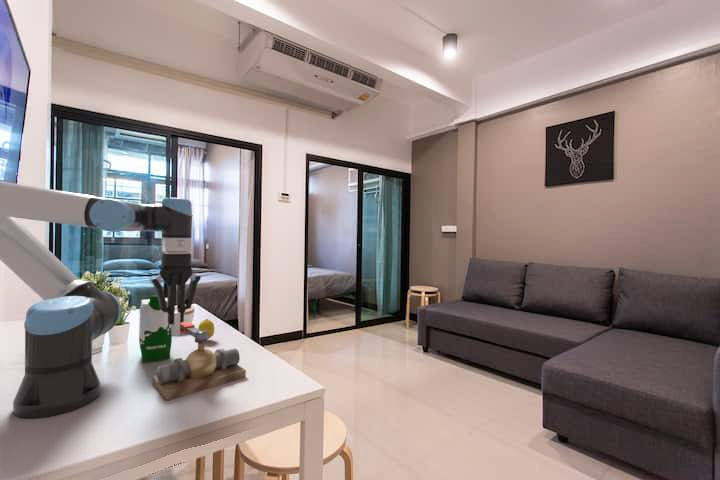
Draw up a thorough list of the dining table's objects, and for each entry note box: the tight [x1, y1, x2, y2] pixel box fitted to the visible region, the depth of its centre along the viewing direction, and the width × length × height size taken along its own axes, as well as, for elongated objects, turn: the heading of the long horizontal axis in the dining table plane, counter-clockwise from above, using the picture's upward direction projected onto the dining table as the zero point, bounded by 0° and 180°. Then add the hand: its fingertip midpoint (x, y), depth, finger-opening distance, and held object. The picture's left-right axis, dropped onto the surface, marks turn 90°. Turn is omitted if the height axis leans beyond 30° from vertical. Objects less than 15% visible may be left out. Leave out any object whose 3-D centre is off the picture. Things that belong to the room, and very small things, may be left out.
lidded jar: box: [175, 306, 195, 324], centre depth 138 cm, size 11×11×9 cm
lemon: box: [197, 318, 215, 340], centre depth 124 cm, size 6×6×8 cm
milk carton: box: [138, 293, 173, 364], centre depth 107 cm, size 9×9×20 cm
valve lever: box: [180, 322, 209, 344], centre depth 96 cm, size 15×3×2 cm, turn 46°
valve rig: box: [151, 342, 247, 401], centre depth 92 cm, size 20×12×10 cm, turn 136°
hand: (175, 334), depth 97 cm, fingers closed
